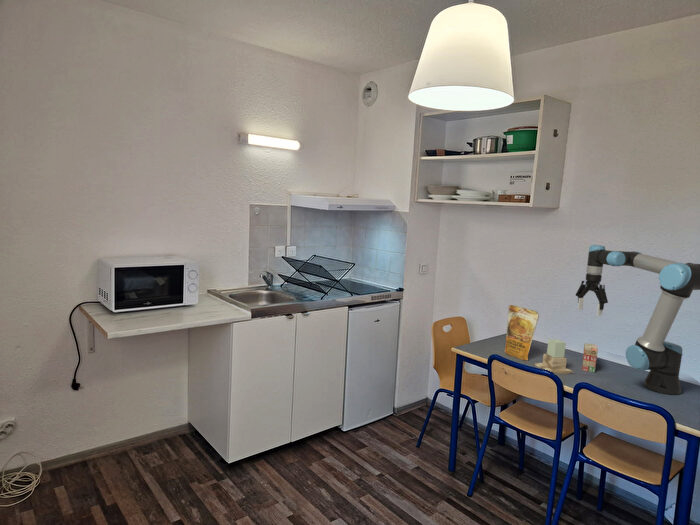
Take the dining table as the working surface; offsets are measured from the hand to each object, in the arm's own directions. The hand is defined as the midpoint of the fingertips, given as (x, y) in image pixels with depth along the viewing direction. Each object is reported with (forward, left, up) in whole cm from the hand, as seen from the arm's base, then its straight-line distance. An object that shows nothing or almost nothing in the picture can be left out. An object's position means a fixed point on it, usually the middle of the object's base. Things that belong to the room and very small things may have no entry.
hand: (589, 312), depth 260 cm
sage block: (-6, +23, -22) cm, 32 cm away
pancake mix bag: (+16, +31, -30) cm, 46 cm away
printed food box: (-3, -1, -30) cm, 30 cm away
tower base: (-6, +23, -29) cm, 38 cm away
